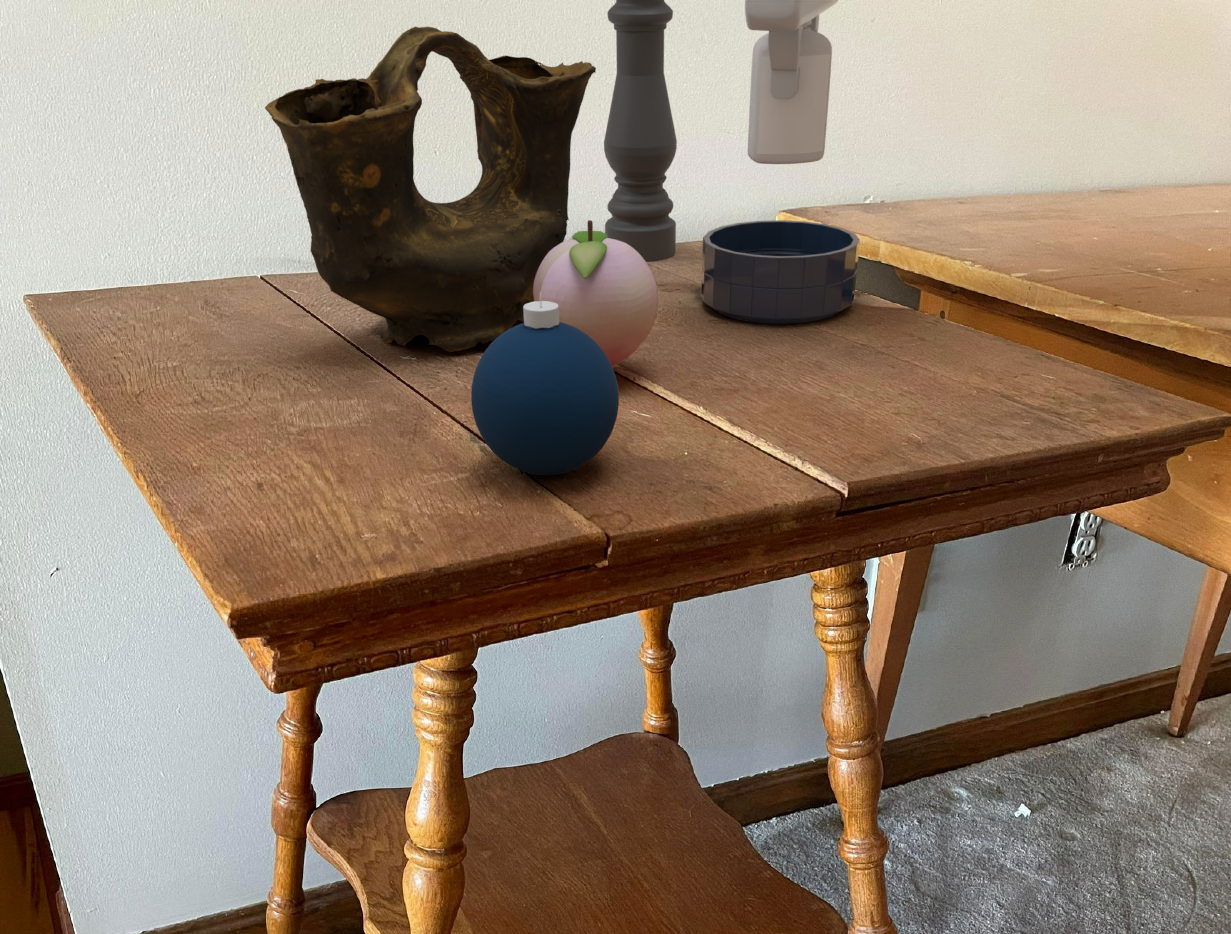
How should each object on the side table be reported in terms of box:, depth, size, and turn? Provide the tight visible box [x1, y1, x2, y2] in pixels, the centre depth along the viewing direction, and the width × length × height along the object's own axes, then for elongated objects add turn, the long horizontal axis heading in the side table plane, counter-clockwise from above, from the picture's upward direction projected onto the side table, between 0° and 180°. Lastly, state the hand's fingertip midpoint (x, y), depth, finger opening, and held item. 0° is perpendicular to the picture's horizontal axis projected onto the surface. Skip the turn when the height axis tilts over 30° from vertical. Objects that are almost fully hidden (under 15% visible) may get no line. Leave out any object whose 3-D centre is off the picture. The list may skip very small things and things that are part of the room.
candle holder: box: [603, 0, 678, 263], centre depth 104 cm, size 6×6×25 cm
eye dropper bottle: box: [747, 20, 833, 165], centre depth 91 cm, size 4×6×12 cm
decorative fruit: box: [533, 219, 659, 368], centre depth 85 cm, size 9×8×10 cm
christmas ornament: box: [470, 292, 620, 476], centre depth 71 cm, size 8×8×10 cm
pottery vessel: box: [264, 26, 597, 353], centre depth 90 cm, size 25×11×20 cm, turn 131°
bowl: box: [701, 219, 861, 325], centre depth 100 cm, size 12×12×5 cm
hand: (790, 91), depth 92 cm, fingers closed on eye dropper bottle, 4 cm apart
